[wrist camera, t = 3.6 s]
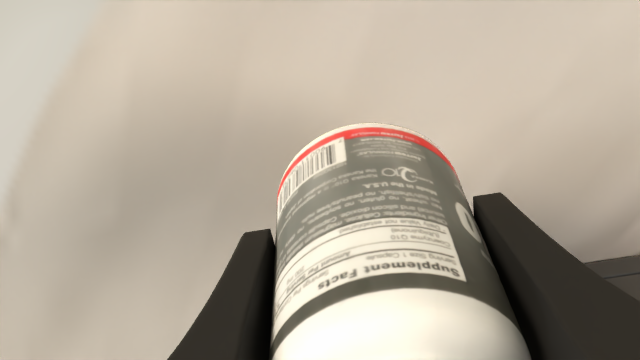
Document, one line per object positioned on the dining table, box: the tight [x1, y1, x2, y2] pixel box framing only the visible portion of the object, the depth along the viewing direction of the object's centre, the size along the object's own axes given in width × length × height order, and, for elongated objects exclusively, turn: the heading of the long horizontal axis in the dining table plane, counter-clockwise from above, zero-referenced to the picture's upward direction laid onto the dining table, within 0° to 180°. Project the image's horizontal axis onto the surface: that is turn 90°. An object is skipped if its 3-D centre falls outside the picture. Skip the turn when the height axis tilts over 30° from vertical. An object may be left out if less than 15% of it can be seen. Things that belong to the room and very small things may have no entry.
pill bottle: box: [269, 123, 531, 360], centre depth 12 cm, size 5×5×8 cm
